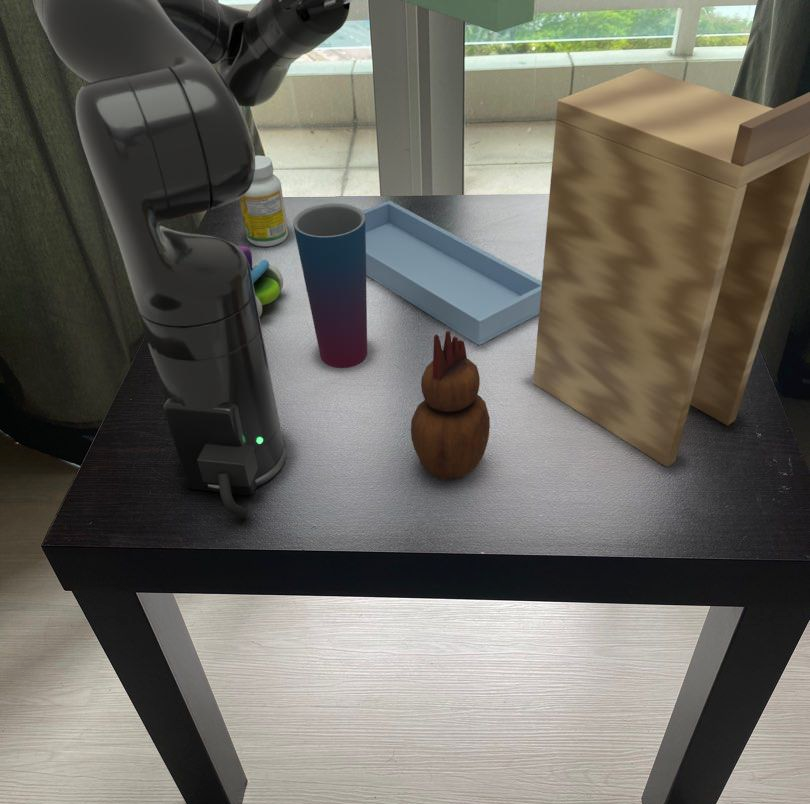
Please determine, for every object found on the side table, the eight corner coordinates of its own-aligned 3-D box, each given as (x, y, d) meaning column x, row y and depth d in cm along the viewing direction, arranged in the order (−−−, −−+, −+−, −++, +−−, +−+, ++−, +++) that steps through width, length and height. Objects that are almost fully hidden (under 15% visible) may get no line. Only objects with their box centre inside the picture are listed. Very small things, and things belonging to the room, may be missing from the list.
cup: (367, 375, 87) (355, 239, 76) (304, 370, 88) (283, 234, 78) (382, 338, 92) (372, 205, 81) (321, 334, 93) (304, 201, 82)
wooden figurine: (434, 499, 74) (432, 355, 64) (403, 461, 78) (395, 320, 67) (499, 471, 77) (507, 328, 66) (465, 436, 80) (467, 295, 69)
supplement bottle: (283, 248, 106) (271, 172, 99) (242, 247, 107) (227, 171, 100) (292, 228, 110) (282, 153, 103) (253, 226, 111) (239, 152, 104)
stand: (532, 383, 85) (560, 64, 64) (600, 345, 89) (647, 33, 68) (667, 468, 76) (752, 128, 55) (735, 420, 80) (839, 87, 59)
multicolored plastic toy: (224, 280, 102) (212, 222, 96) (296, 293, 99) (288, 234, 94) (188, 317, 96) (172, 258, 91) (263, 332, 94) (251, 272, 88)
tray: (325, 249, 106) (322, 227, 104) (390, 222, 110) (389, 200, 108) (478, 345, 90) (479, 321, 88) (547, 309, 95) (550, 285, 92)
